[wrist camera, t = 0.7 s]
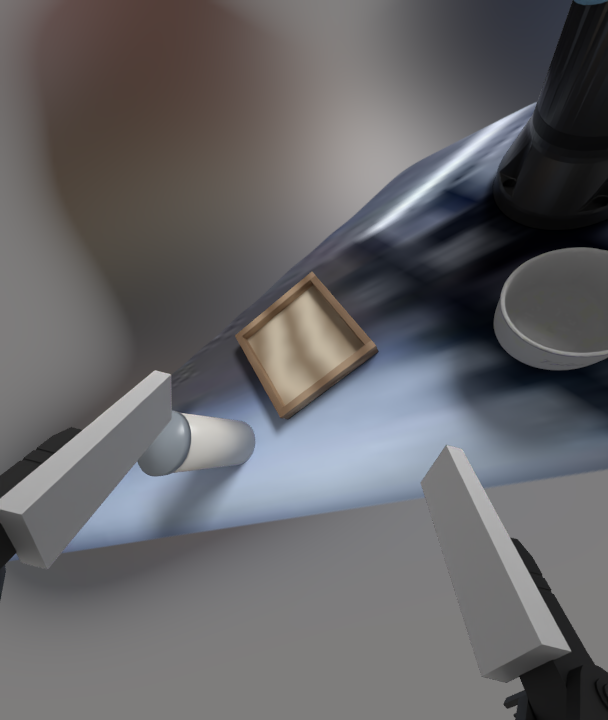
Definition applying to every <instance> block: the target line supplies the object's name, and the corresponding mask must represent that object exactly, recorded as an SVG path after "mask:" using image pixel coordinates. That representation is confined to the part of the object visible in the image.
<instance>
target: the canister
mask: <svg viewBox="0 0 608 720" xmlns="http://www.w3.org/2000/svg"><path fill="white" fill-rule="evenodd" d="M254 448H255V435H254V432H253V429H252V428H251V427H250V425H248V424H247V423H246V422H243V421H238V420H230V419H222V418H215V417H207V416H199V415H192V414H184V413H180V412H177V411H172V419H171V421H170V422H169V423H168V424H167V425H166V427H165V428H164V429H163V430H162V432H161V433H160V434H159V435H158V436H157V438H156V439H155V440H154V441H153V442H152V444H151V445H150V446H149V447H148V448H147V450H146V451H145V452H144V453H143V454H142V456H141V457H140V458H139V459H138V464H139V466H140V468H141V469H142V471H143V472H144V473H146V474H147V475H150V476H163V475H168V474H171V473H176V472H184V471H193V470H201V469H210V468H218V467H226V466H235V465H240V464H243V463H245V462H246V461H247V460H248V459H249V458H250V457H251V455H252V453H253V451H254Z"/></svg>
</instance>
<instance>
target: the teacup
mask: <svg viewBox="0 0 608 720" xmlns="http://www.w3.org/2000/svg"><path fill="white" fill-rule="evenodd" d="M494 331H495V335H496V337H497V339H498V341H499V343H500V345H501V346H502V347H503V348H504V349H505V350H506V352H507V353H509V354H510V355H511V356H512V357H514V358H515V359H517V360H519V361H520V362H523V363H525V364H527V365H530V366H533V367H536V368H541V369H548V370H570V369H576V368H581V367H585V366H588V365H591V364H594V363H597V362H599V361H601V360H604V359H606V358H608V251H607V250H600V249H596V248H586V247H577V248H565V249H559V250H554V251H550V252H547V253H544V254H541V255H539V256H537V257H534V258H532V259H530V260H528V261H526V262H525V263H523V264H522V265H520V266H519V267H518V268H517V269H516V270H514V271H513V273H512V274H511V275H510V276H509V278H508V279H507V280H506V282H505V284H504V285H503V288H502V291H501V295H500V299H499V302H498V305H497V308H496V311H495V315H494Z"/></svg>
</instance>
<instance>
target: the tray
mask: <svg viewBox="0 0 608 720" xmlns="http://www.w3.org/2000/svg"><path fill="white" fill-rule="evenodd" d="M235 337H236V338H237V340H238V342H239V344H240V346H241V347H242V349H243V351H244V353H245V355H246V356H247V358H248V360H249V362H250V364H251V365H252V367H253V369H254V371H255V373H256V374H257V376H258V378H259V380H260V382H261V384H262V385H263V387H264V389H265V391H266V393H267V394H268V396H269V398H270V400H271V402H272V403H273V405H274V407H275V409H276V411H277V412H278V414H279V416H280V418H284V419H289V418H291V417H292V416H293V415H295V414H296V413H297V412H299V411H300V410H301V409H303V408H304V407H305V406H307V405H308V404H309V403H311V402H312V401H313V400H315V399H316V398H317V397H319V396H320V395H321V394H323V393H324V392H325V391H327V390H328V389H329V388H331V387H332V386H333V385H335V384H336V383H337V382H339V381H340V380H341V379H343V378H344V377H345V376H347V375H348V374H349V373H351V372H352V371H353V370H355V369H356V368H357V367H359V366H360V365H361V364H363V363H364V362H365V361H367V360H368V359H369V358H371V357H372V356H373V355H375V354H376V353H377V352H378V349H377V347H376V345H375V344H374V343H373V342H372V340H371V339H370V338H369V337H368V336H367V335H366V333H365V332H364V331H363V330H362V329H361V328H360V327H359V325H358V324H357V323H356V322H355V321H354V320H353V318H352V317H351V316H350V315H349V314H348V313H347V312H346V310H345V309H344V308H343V307H342V306H341V305H340V303H339V302H338V301H337V300H336V299H335V298H334V296H333V295H332V294H331V293H330V292H329V291H328V290H327V288H326V287H325V286H324V285H323V284H322V283H321V281H320V280H319V279H318V278H317V277H316V276H315V274H314V273H313V272H311V273H310V274H308V275H307V276H306V277H305V278H304V279H302V280H301V281H300V282H299V283H298V284H296V285H295V286H294V287H293V288H292V289H290V290H289V291H288V292H287V293H286V294H284V295H283V296H282V297H281V298H280V299H278V300H277V301H276V302H275V303H274V304H272V305H271V306H270V307H269V308H268V309H266V310H265V311H264V312H263V313H262V314H260V315H259V316H258V317H257V318H256V319H254V320H253V321H252V322H251V323H250V324H248V325H247V326H246V327H245V328H244V329H242V330H241V331H240V332H239V333H238V334H236V335H235Z"/></svg>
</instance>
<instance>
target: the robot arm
mask: <svg viewBox="0 0 608 720" xmlns="http://www.w3.org/2000/svg"><path fill="white" fill-rule="evenodd" d="M493 195H494V199H495V202H496V204H497V206H498V207H499V209H500V210H501V211H502V212H503V213H504V214H505V215H506V216H507V217H509V218H510V219H512V220H514V221H515V222H517V223H520V224H522V225H525V226H528V227H532V228H537V229H545V230H566V229H575V228H580V227H585V226H589V225H593V224H596V223H599V222H601V221H604V220H606V219H608V0H573V1H572V4H571V7H570V10H569V13H568V15H567V19H566V21H565V24H564V27H563V30H562V33H561V36H560V39H559V41H558V44H557V47H556V50H555V53H554V56H553V59H552V61H551V64H550V67H549V70H548V73H547V76H546V79H545V82H544V84H543V87H542V90H541V93H540V96H539V99H538V102H537V104H536V107H535V110H534V113H533V115H532V116H531V118H530V119H529V121H528V122H527V124H526V125H525V126H524V128H523V129H522V131H521V132H520V134H519V135H518V137H517V138H516V139H515V141H514V142H513V144H512V145H511V147H510V148H509V149H508V151H507V152H506V154H505V155H504V157H503V159H502V161H501V163H500V165H499V168H498V171H497V174H496V177H495V181H494V185H493ZM171 419H172V408H171V374H167V373H163V372H159V371H153V372H152V373H151V374H150V375H149V376H147V377H146V378H145V379H144V380H143V381H141V382H140V383H139V384H138V385H137V386H136V387H134V388H133V389H132V390H131V391H129V392H128V393H127V394H126V395H125V396H123V397H122V398H121V399H120V400H119V401H117V402H116V403H115V404H114V405H113V406H111V407H110V408H109V409H108V410H107V411H105V412H104V413H103V414H102V415H100V416H99V417H98V418H97V419H96V420H95V421H93V422H92V423H91V424H90V425H89V426H87V427H86V428H85V429H84V430H80V429H76V428H72V427H71V428H69V429H67V430H65V431H62V432H60V433H58V434H56V435H54V436H52V437H51V438H49V439H48V440H47V441H45V442H44V443H43V444H41V445H40V446H39V447H37V449H36V450H35V451H32V452H31V453H29V454H28V455H27V456H26V457H24V459H23V460H22V461H19V462H18V463H16V464H15V465H14V466H12V467H11V468H10V469H8V470H7V471H6V472H5V473H3V474H2V475H1V476H0V599H1V593H2V589H3V583H4V578H5V573H6V568H5V564H6V563H7V562H8V561H9V560H10V559H11V558H12V557H13V556H14V554H15V553H16V554H17V555H18V557H19V559H20V561H21V562H22V563H24V564H28V565H32V566H36V567H40V568H44V569H48V568H49V567H50V566H51V564H52V563H53V562H54V561H55V560H56V558H57V557H58V556H59V555H60V554H61V552H62V551H63V550H64V549H65V548H66V546H67V545H68V544H69V543H70V542H71V540H72V539H73V538H74V537H75V535H76V534H77V533H78V532H79V531H80V529H81V528H82V527H83V526H84V525H85V523H86V522H87V521H88V520H89V519H90V517H91V516H92V515H93V514H94V513H95V511H96V510H97V509H98V508H99V506H100V505H101V504H102V503H103V502H104V500H105V499H106V498H107V497H108V496H109V494H110V493H111V492H112V491H113V490H114V488H115V487H116V486H117V485H118V484H119V482H120V481H121V480H122V479H123V477H124V476H125V475H126V474H127V473H128V471H129V470H130V469H131V468H132V467H133V465H134V464H135V463H136V462H137V461H138V459H139V458H140V457H141V456H142V454H143V453H144V452H145V451H146V450H147V448H148V447H149V446H150V445H151V444H152V442H153V441H154V440H155V439H156V438H157V436H158V435H159V434H160V433H161V432H162V430H163V429H164V428H165V427H166V425H167V424H168V423H169V422H170V421H171ZM421 486H422V489H423V492H424V495H425V498H426V501H427V505H428V508H429V511H430V514H431V517H432V521H433V524H434V527H435V530H436V533H437V536H438V540H439V543H440V546H441V549H442V552H443V555H444V559H445V562H446V565H447V568H448V571H449V574H450V578H451V581H452V584H453V587H454V590H455V593H456V597H457V600H458V603H459V606H460V609H461V613H462V616H463V619H464V622H465V625H466V628H467V632H468V635H469V638H470V641H471V644H472V647H473V651H474V654H475V657H476V660H477V663H478V667H479V670H480V673H481V676H482V677H485V678H489V679H493V680H497V681H501V682H505V683H507V682H509V681H511V680H513V679H515V678H517V677H520V679H521V682H522V684H523V686H524V689H525V690H524V691H522V692H519V693H517V694H514V695H512V696H510V697H507V698H506V700H505V702H504V706H505V707H506V708H510V707H513V706H516V705H518V707H517V713H515V714H514V717H515V718H516V719H515V720H608V673H607V672H606V671H605V670H603V669H602V668H601V667H599V666H596V665H595V664H594V662H593V661H592V659H591V658H590V656H589V654H588V653H587V651H586V650H585V648H584V646H583V644H582V642H581V641H580V639H579V637H578V636H577V634H576V632H575V630H574V629H573V627H572V625H571V624H570V622H569V620H568V618H567V617H566V615H565V613H564V611H563V609H562V608H561V606H560V604H559V603H558V601H557V599H556V597H555V596H554V594H552V593H551V589H550V587H549V585H548V584H547V582H546V580H545V578H543V577H542V573H541V571H540V569H539V568H538V566H537V564H536V563H535V561H534V559H533V557H532V556H531V555H530V554H529V553H528V551H527V550H526V549H525V548H524V546H523V545H522V544H521V543H520V542H519V541H518V540H517V539H514V538H510V537H509V535H508V533H507V531H506V530H505V528H504V526H503V524H502V522H501V520H500V518H499V517H498V515H497V513H496V511H495V509H494V507H493V505H492V504H491V502H490V500H489V498H488V496H487V494H486V492H485V491H484V489H483V487H482V485H481V483H480V481H479V480H478V478H477V476H476V474H475V472H474V470H473V468H472V467H471V465H470V463H469V461H468V459H467V457H466V455H465V454H464V452H463V450H462V449H460V448H456V447H452V446H448V445H446V446H445V448H444V449H443V450H442V452H441V453H440V455H439V456H438V458H437V459H436V461H435V462H434V464H433V465H432V467H431V468H430V470H429V471H428V472H427V474H426V475H425V477H424V478H423V480H422V481H421Z"/></svg>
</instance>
